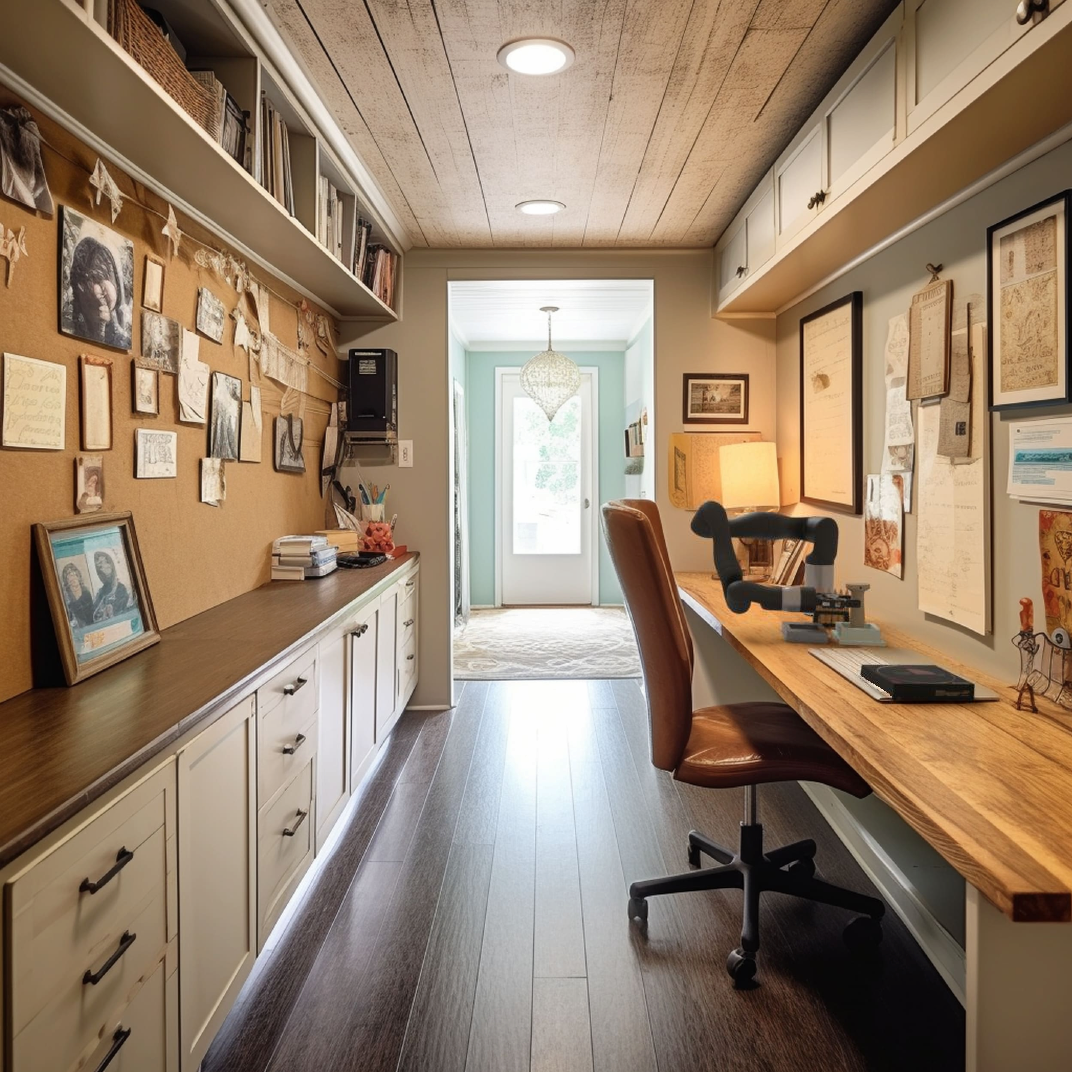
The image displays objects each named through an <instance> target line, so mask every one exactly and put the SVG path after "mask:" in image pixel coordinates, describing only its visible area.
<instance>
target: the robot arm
mask: <svg viewBox="0 0 1072 1072" xmlns="http://www.w3.org/2000/svg"><path fill="white" fill-rule="evenodd" d="M726 511H727V510H726V509H725V508H724V506H723V505H722V504H721V503H719V502H718V501H715V500H705V501H704V502H703V503H702V504H701V505H700V506H699V507H698V509H697V510H696V512H695V514H694V515H693V517H692V519H691V521H690V529H691V531H692V532H693V533H694V534H695V535H696V536H698V537H701V538H705V539H712V543H713V544H712V547H713V548H712V550H713V552H712V553H713V555H712V556H713V558H712V559H713V564H714V567H715V571H716V573H717V576H718V578H719V580H720V583H721V588H722V592H723V597H724V600H725V604H726V606H727V608H728V610H730V611H731V612H732V613H734V614H736V615H743V614H745V613H746V612H748V611H749V609H750V608H751V606H752V603H754V604H755V603H756V604H759V606H760V607H761V610H762V609H763V610H764V611H771V612H773V611H776V612H787V613H798V614H799V613H802V614H804V615H806V614H807V616H811V615H813V613H814V612H815V611H816V606H817V605H818V606H819V610H820V606H822V608H824V609H825V610H826V608H830V609H831V610H832V609H837V610H838V609H843V610H844V609H845V608H846V607H847V608H849V609H850V608H860V607H861V601H860V600H851V594H849V595H845V594H843V595H841V594H839V592H837V593H833V592H834V589H835V588H834V585H835V584H834V583H835V582H834V581H835V560H836V558H837V554H838V548H839V546H838V545H839V537H840V536H839V533H840V532H839V531H840V530H839V525H838V523H837V521H836V520H835V519H834V518H832V517H829V516H815V515H814V516H798V517H797V516H796V517H795V516H787V515H784V514H782V513H777V512H772V511H771V512H769V511H759V510H758V511H753V512H748V513H745V514H743V515H739V516H737V517H734V518H728V514H727V512H726ZM732 538H733V539H734V538H735V539H752V540H761V541H762V540H763V541H778V540H786V539H792V540H798V541H803V542H806V543H807V542H808V543H811V544H813V548H812V551H811V552H810V553H808V554H806V555H805V559H804V563H805V564H804V586H799V585H798V586H795V585H794V586H792V585H789V586H766V585H764V584H759V583H757V582H756V583H755V582H753V581H747V580H744V575H743V570H742V568H741V565H740V562H739V560H738V558H737V555H736V551H735V548H734V545H733V541H732ZM816 588H817V589H818V593H816ZM822 589H824V592H825V593H821V591H822ZM828 589H830V592H831V593H827V592H828ZM839 603H840V605H839Z"/></svg>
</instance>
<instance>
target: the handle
mask: <svg viewBox="0 0 1072 1072" xmlns="http://www.w3.org/2000/svg"><path fill="white" fill-rule="evenodd" d="M845 588H846V590H847V589H848V591H850V595H851V600H860V601H861V607H860V608H849V622H850V628H862V629H864V624H865V623H866V622H865V620H866V619H865V618H866V616H865V615H866V614H865V613H866V611H865V592H867V591H868V590H870V589H871V583H867V582H845Z"/></svg>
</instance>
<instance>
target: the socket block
mask: <svg viewBox="0 0 1072 1072" xmlns="http://www.w3.org/2000/svg"><path fill="white" fill-rule="evenodd" d="M781 633H782V635H783V637H784V639H785V642H786V643H801V644H802V643H803V644H806V643H807V644H820V645H821V644H823V645H827V644H829V632H828V631H827V629H826V627H823V625H822V624H821V623H813V621H812V622H811V621H810V622H809V621H808V622H806V621H785V620H783V621H781Z"/></svg>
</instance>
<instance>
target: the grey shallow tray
mask: <svg viewBox="0 0 1072 1072" xmlns="http://www.w3.org/2000/svg"><path fill="white" fill-rule="evenodd" d="M830 634H831V636H832V637H833V638H834V639H835V640H836V642H837V643H838V645H843V646H864V647H865V646H866V647H867V646H869V647H883V648H885V647H886V648H887V642H886V641H885V640H883V638H882V629H881V628H880V627H878V625H876V624H875V623H874V622H865V624H864V629H862V628H850V621H849V622H836V625H835V629H830Z"/></svg>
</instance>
